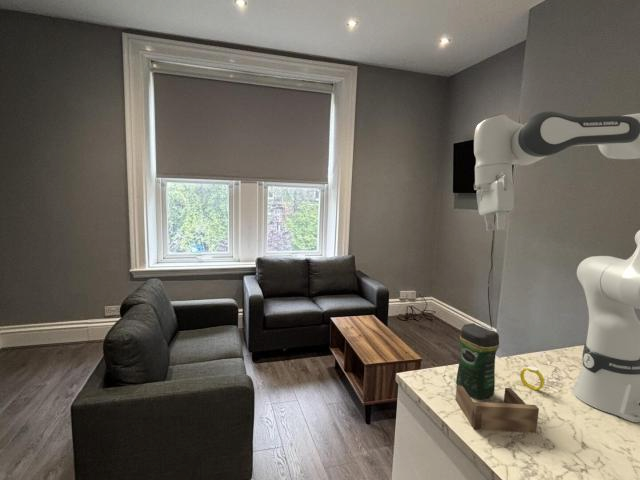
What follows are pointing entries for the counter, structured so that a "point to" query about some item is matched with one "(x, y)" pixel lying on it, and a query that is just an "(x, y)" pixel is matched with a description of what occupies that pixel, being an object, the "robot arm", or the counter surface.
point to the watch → (535, 370)
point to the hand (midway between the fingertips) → (495, 230)
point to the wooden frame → (499, 413)
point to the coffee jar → (477, 361)
